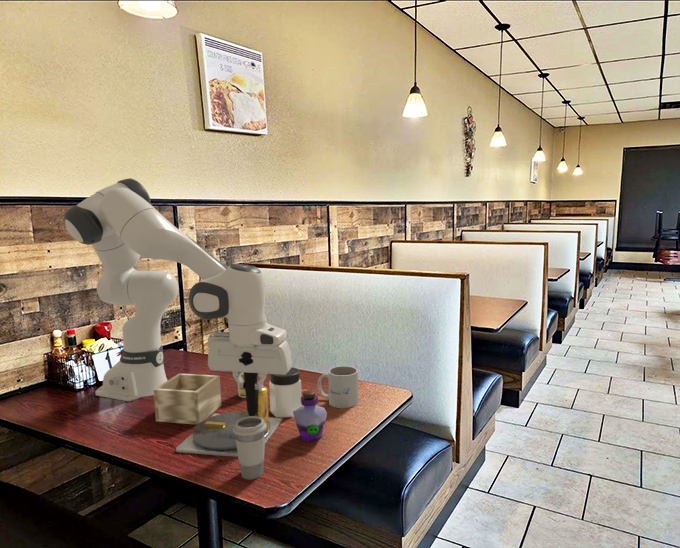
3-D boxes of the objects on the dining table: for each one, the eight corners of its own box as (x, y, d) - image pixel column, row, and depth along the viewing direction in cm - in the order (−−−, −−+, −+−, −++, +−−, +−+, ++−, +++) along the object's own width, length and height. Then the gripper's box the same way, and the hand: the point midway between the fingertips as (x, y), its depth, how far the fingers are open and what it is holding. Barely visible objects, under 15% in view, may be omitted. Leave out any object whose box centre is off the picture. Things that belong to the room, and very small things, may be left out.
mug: (364, 401, 142) (363, 369, 140) (347, 412, 135) (347, 378, 133) (330, 393, 149) (329, 362, 147) (313, 403, 142) (311, 370, 140)
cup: (243, 487, 99) (240, 432, 98) (230, 473, 105) (227, 421, 103) (274, 475, 103) (272, 422, 102) (260, 463, 109) (257, 412, 107)
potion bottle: (305, 450, 114) (303, 402, 112) (286, 437, 121) (285, 391, 119) (335, 440, 119) (333, 393, 117) (315, 427, 126) (314, 383, 124)
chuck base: (176, 451, 115) (176, 447, 115) (214, 416, 134) (214, 413, 134) (253, 459, 110) (253, 455, 110) (281, 421, 129) (281, 418, 129)
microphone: (236, 429, 116) (232, 348, 113) (248, 420, 121) (245, 342, 118) (256, 433, 114) (253, 350, 111) (268, 422, 119) (265, 344, 117)
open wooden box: (155, 421, 132) (153, 389, 130) (181, 402, 144) (179, 373, 143) (199, 424, 129) (197, 392, 128) (221, 405, 141) (219, 375, 140)
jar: (306, 414, 134) (304, 373, 132) (279, 421, 130) (277, 379, 128) (293, 403, 141) (291, 364, 140) (267, 409, 138) (265, 369, 136)
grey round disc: (177, 446, 115) (174, 399, 113) (214, 412, 133) (212, 372, 132) (254, 453, 111) (251, 404, 109) (281, 417, 129) (279, 375, 127)
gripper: (201, 334, 113) (204, 391, 115) (284, 338, 109) (286, 397, 111) (213, 328, 119) (216, 381, 121) (292, 331, 115) (294, 386, 117)
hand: (250, 389), depth 116 cm, fingers closed on microphone, 3 cm apart
